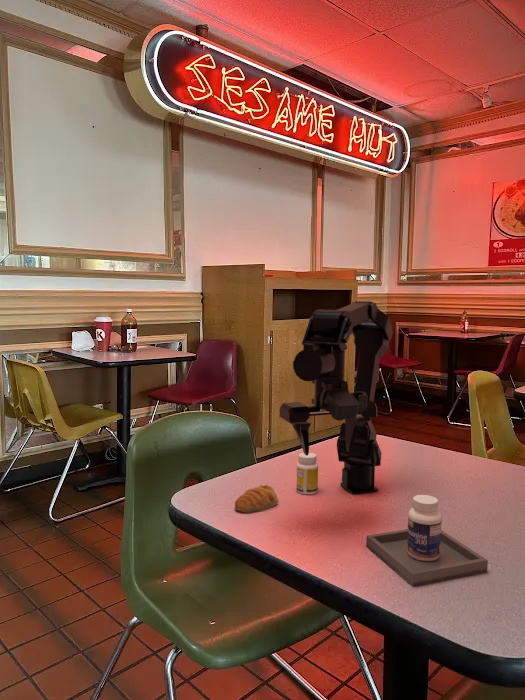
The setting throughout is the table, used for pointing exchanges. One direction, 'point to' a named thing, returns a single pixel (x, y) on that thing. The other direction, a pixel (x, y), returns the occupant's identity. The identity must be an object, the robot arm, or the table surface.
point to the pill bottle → (424, 529)
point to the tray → (449, 565)
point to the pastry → (257, 499)
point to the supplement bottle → (307, 474)
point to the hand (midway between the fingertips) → (327, 452)
